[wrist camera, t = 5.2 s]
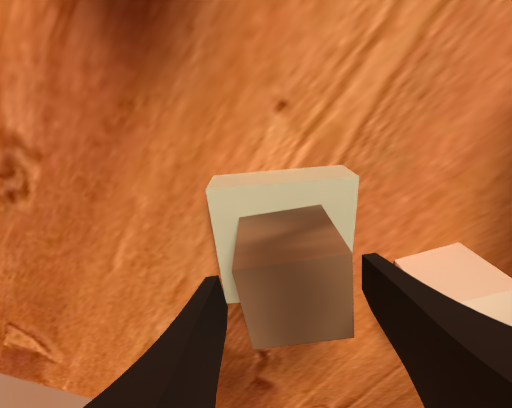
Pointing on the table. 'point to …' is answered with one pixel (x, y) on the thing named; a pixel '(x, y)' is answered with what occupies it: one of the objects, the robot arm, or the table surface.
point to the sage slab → (277, 204)
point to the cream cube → (463, 279)
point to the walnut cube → (293, 278)
